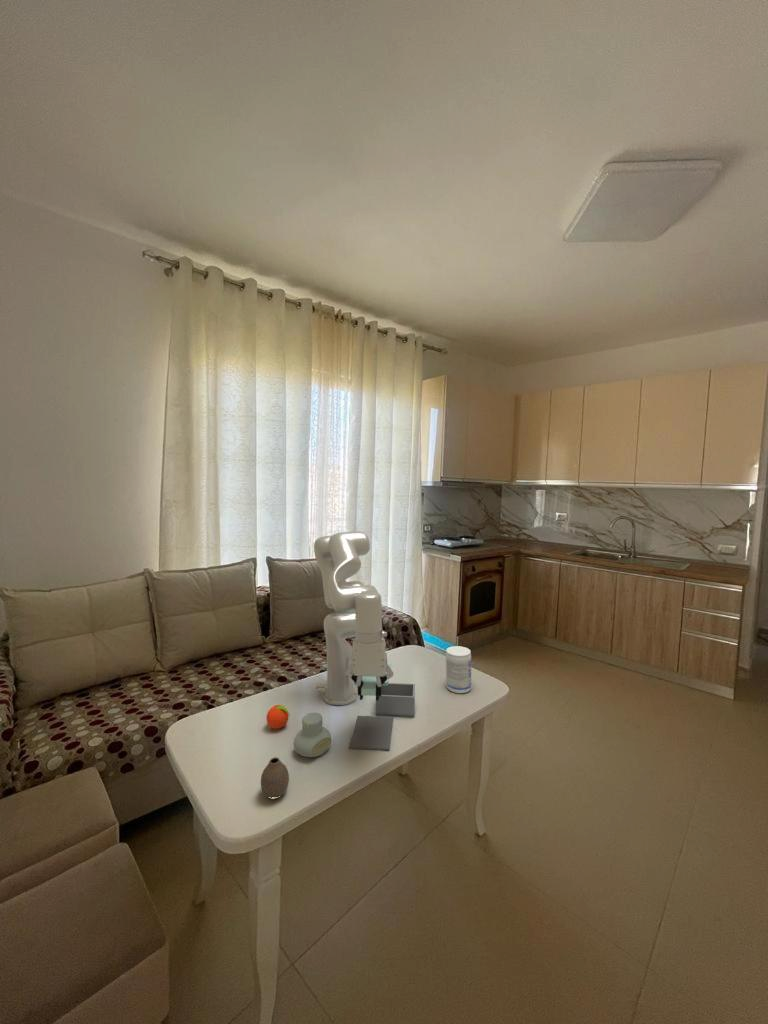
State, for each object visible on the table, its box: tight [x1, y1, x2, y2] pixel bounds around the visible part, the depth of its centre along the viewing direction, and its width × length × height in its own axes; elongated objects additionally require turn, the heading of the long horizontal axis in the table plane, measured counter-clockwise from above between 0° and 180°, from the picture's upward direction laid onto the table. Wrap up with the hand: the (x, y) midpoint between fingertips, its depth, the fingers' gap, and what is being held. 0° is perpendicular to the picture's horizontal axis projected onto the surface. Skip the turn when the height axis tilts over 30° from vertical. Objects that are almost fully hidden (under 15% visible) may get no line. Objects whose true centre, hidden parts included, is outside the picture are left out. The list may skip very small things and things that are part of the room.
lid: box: [353, 661, 392, 697], centre depth 121 cm, size 19×10×2 cm, turn 174°
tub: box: [375, 682, 416, 718], centre depth 138 cm, size 13×9×7 cm
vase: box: [260, 756, 290, 798], centre depth 100 cm, size 7×7×9 cm
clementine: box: [266, 704, 291, 730], centre depth 128 cm, size 8×7×7 cm
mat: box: [348, 715, 394, 752], centre depth 125 cm, size 12×16×1 cm
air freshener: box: [293, 712, 332, 758], centre depth 116 cm, size 11×8×10 cm
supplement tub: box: [445, 645, 472, 694], centre depth 152 cm, size 10×10×15 cm
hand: (369, 697), depth 114 cm, fingers closed on lid, 4 cm apart
